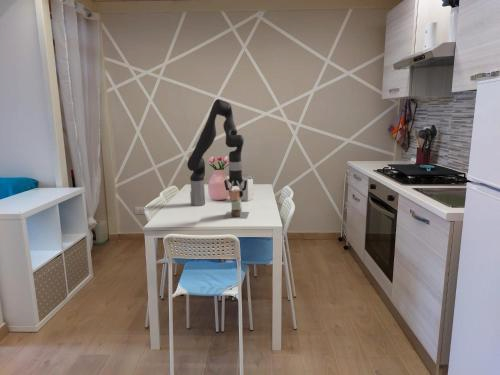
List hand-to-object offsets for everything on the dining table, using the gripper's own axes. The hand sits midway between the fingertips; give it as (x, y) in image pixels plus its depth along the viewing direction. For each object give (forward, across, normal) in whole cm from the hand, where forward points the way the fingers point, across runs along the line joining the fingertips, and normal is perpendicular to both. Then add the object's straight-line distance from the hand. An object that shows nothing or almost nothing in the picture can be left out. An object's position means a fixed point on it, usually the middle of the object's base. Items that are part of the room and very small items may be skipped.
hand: (236, 196), depth 217 cm
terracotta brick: (+1, 0, 0) cm, 1 cm away
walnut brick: (+11, 0, 0) cm, 11 cm away
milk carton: (+13, +1, +44) cm, 46 cm away
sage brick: (+7, 0, 0) cm, 7 cm away
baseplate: (+13, 0, 0) cm, 13 cm away
